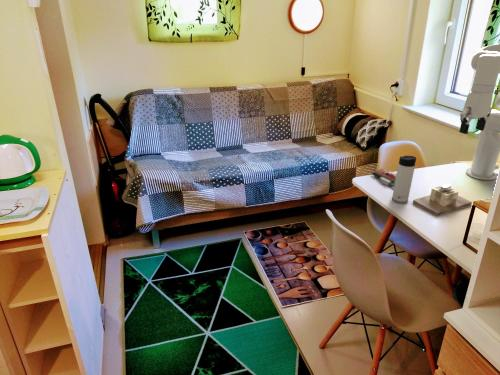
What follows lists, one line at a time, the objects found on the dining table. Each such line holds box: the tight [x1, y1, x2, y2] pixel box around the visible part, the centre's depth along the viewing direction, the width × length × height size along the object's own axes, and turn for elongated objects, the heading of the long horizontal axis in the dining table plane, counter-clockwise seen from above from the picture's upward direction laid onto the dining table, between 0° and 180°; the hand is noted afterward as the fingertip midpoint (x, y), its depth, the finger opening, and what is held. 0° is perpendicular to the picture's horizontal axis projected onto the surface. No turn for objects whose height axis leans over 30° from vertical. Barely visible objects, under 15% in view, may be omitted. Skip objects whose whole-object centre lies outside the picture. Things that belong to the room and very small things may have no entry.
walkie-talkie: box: [371, 168, 397, 188], centre depth 176 cm, size 9×4×20 cm
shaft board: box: [412, 183, 473, 217], centre depth 156 cm, size 20×12×8 cm, turn 116°
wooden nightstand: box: [429, 184, 459, 206], centre depth 156 cm, size 7×7×5 cm
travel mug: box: [391, 155, 417, 205], centre depth 156 cm, size 6×7×20 cm
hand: (471, 131), depth 154 cm, fingers open, 9 cm apart
